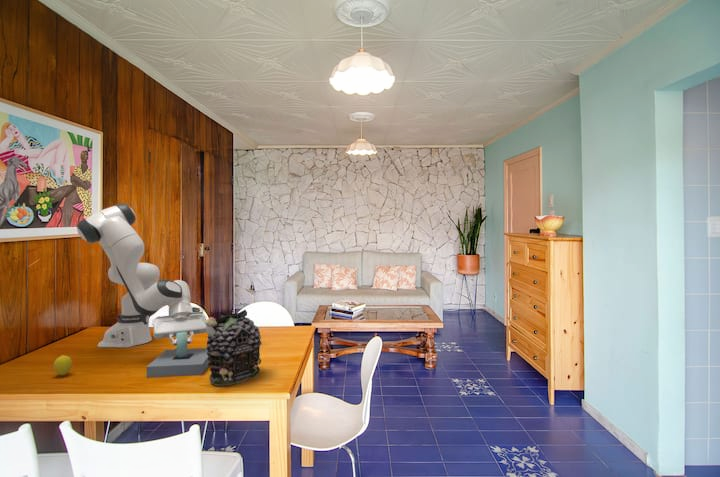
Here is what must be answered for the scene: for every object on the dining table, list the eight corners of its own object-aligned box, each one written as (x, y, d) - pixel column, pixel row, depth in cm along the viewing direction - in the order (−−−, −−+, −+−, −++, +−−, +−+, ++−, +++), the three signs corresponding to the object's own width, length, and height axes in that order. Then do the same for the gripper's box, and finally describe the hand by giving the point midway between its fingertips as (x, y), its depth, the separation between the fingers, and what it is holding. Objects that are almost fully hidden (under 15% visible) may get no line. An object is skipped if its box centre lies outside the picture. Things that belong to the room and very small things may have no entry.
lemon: (60, 373, 147) (60, 352, 147) (75, 372, 147) (75, 352, 147) (50, 379, 141) (49, 357, 141) (65, 378, 142) (65, 357, 142)
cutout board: (146, 377, 143) (146, 366, 143) (166, 359, 163) (166, 349, 162) (202, 374, 145) (202, 364, 145) (215, 356, 165) (215, 347, 165)
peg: (175, 357, 151) (174, 334, 151) (178, 353, 155) (178, 331, 155) (185, 356, 152) (185, 334, 151) (188, 353, 156) (188, 331, 155)
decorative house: (218, 392, 130) (217, 319, 129) (198, 380, 140) (197, 312, 139) (270, 375, 145) (270, 309, 144) (249, 365, 155) (248, 304, 154)
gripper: (152, 312, 154) (152, 343, 146) (206, 308, 164) (209, 336, 155) (152, 321, 158) (152, 351, 150) (205, 316, 168) (208, 344, 160)
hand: (182, 343), depth 153 cm, fingers closed on peg, 4 cm apart
